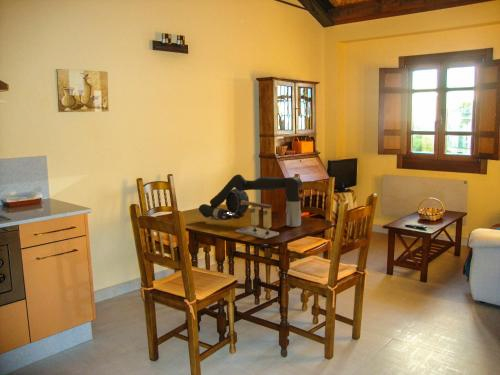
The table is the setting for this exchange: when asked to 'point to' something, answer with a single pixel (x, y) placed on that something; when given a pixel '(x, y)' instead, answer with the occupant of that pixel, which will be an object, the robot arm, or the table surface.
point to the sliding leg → (254, 216)
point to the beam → (256, 204)
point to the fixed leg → (267, 219)
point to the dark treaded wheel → (237, 201)
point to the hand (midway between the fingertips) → (238, 217)
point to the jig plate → (257, 232)
